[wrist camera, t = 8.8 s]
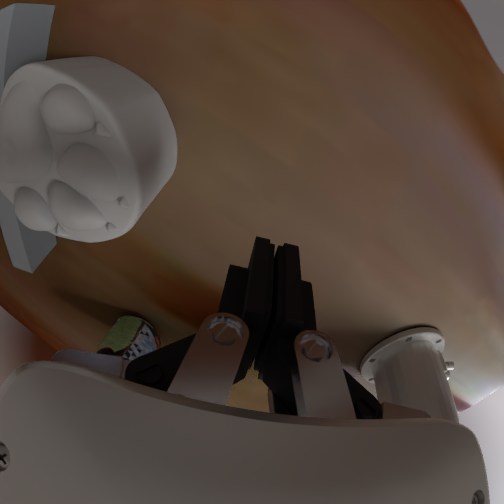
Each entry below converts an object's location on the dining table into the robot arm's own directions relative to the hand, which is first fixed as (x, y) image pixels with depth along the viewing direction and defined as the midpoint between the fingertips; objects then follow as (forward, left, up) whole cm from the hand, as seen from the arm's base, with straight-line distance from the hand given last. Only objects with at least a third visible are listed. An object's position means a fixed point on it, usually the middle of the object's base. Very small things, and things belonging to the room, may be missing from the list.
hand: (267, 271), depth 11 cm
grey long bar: (+22, -1, -11) cm, 24 cm away
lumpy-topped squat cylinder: (+13, -1, -11) cm, 17 cm away
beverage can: (+11, +21, -11) cm, 26 cm away
